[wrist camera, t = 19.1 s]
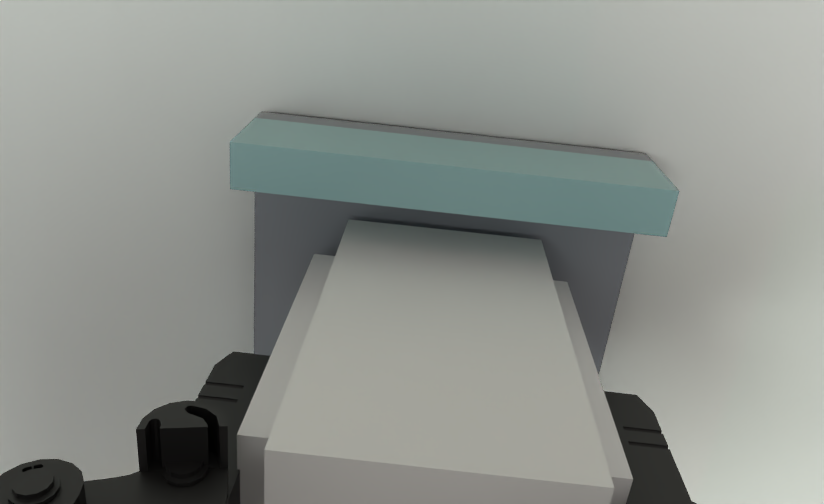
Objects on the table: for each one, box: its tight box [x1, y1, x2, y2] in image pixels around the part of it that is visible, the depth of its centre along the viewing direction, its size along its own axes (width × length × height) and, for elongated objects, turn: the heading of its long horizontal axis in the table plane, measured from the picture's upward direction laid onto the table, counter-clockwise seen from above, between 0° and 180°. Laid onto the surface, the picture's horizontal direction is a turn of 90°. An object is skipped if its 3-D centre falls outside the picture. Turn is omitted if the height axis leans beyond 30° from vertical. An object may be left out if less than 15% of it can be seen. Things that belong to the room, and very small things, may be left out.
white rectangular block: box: [264, 219, 614, 504], centre depth 13 cm, size 4×4×8 cm
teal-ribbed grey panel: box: [230, 112, 679, 375], centre depth 18 cm, size 9×16×3 cm, turn 174°
